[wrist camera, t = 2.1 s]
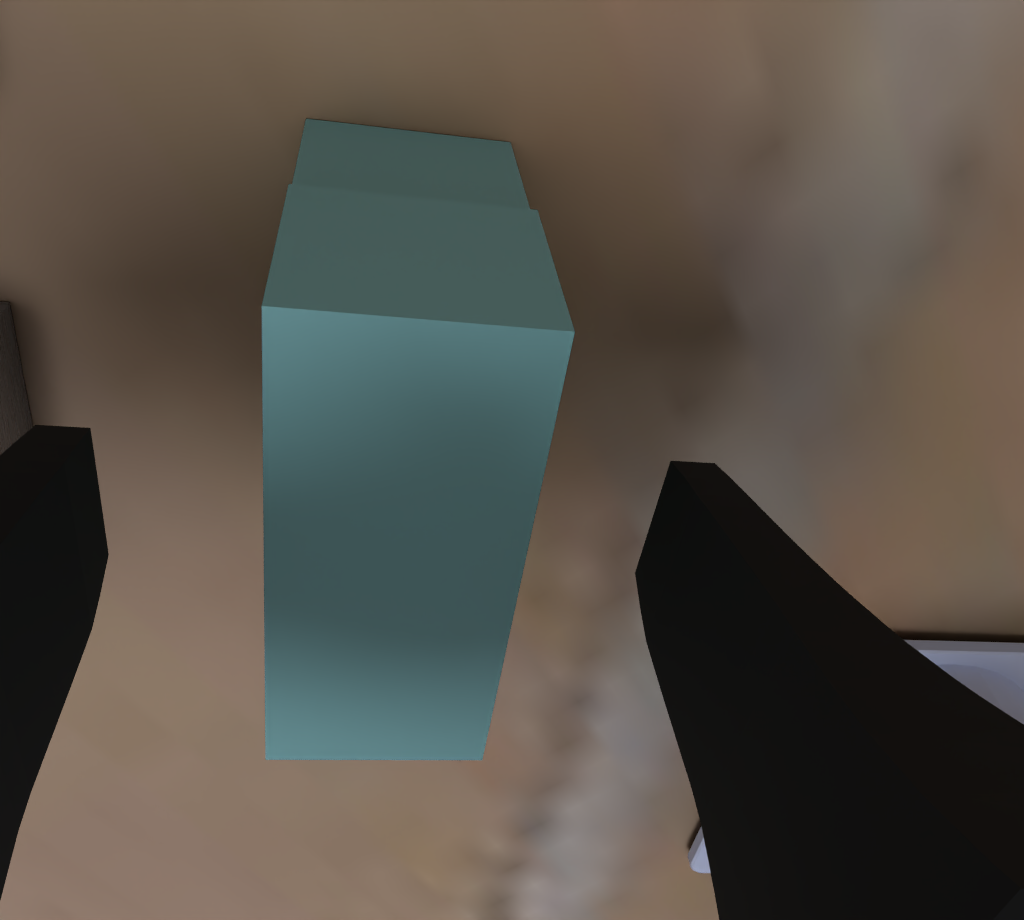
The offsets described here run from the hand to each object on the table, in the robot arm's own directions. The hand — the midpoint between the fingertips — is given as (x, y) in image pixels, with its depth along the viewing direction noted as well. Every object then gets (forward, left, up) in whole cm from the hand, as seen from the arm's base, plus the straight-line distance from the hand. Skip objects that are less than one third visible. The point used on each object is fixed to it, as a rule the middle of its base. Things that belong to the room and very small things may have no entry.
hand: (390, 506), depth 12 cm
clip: (0, 0, -5) cm, 5 cm away
